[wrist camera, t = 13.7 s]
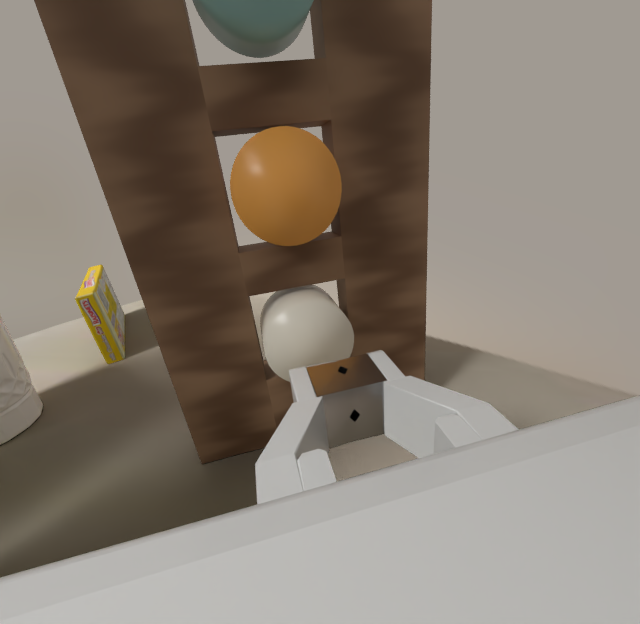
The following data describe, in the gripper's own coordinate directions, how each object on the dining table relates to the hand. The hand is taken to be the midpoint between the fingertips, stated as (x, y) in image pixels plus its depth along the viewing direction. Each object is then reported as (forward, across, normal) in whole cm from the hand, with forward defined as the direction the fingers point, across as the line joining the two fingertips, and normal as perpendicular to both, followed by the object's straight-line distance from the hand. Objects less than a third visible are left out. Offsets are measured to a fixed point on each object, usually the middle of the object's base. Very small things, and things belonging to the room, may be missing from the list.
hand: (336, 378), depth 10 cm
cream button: (+9, 0, +5) cm, 10 cm away
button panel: (+13, 0, +11) cm, 17 cm away
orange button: (+9, 0, -3) cm, 9 cm away
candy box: (+35, +21, +12) cm, 42 cm away
